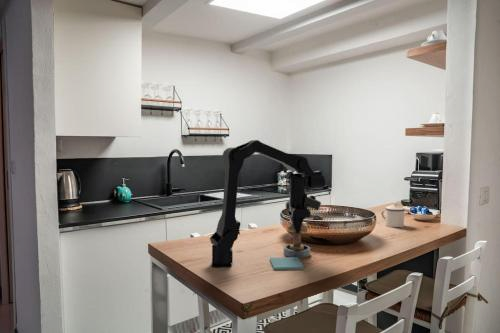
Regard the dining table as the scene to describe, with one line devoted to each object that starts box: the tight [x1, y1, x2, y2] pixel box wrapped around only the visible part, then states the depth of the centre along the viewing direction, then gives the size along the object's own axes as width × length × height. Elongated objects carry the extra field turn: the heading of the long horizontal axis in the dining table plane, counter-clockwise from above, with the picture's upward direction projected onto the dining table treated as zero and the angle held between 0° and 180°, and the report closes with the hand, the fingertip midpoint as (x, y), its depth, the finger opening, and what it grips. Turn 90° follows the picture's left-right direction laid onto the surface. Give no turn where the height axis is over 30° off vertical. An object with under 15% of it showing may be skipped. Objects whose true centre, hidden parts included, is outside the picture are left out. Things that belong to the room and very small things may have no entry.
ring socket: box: [283, 243, 311, 259], centre depth 132 cm, size 10×10×2 cm
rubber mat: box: [269, 256, 305, 271], centre depth 121 cm, size 10×10×1 cm
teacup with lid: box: [380, 202, 406, 228], centre depth 179 cm, size 12×9×12 cm
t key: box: [286, 223, 308, 251], centre depth 132 cm, size 7×5×9 cm
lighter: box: [310, 213, 324, 221], centre depth 156 cm, size 8×3×10 cm, turn 47°
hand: (297, 231), depth 132 cm, fingers closed on t key, 3 cm apart
